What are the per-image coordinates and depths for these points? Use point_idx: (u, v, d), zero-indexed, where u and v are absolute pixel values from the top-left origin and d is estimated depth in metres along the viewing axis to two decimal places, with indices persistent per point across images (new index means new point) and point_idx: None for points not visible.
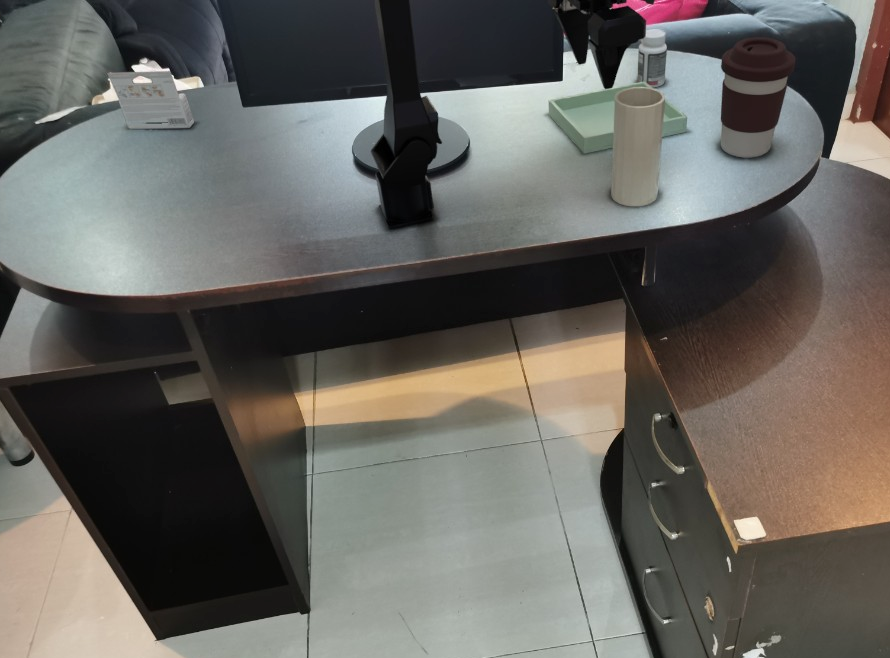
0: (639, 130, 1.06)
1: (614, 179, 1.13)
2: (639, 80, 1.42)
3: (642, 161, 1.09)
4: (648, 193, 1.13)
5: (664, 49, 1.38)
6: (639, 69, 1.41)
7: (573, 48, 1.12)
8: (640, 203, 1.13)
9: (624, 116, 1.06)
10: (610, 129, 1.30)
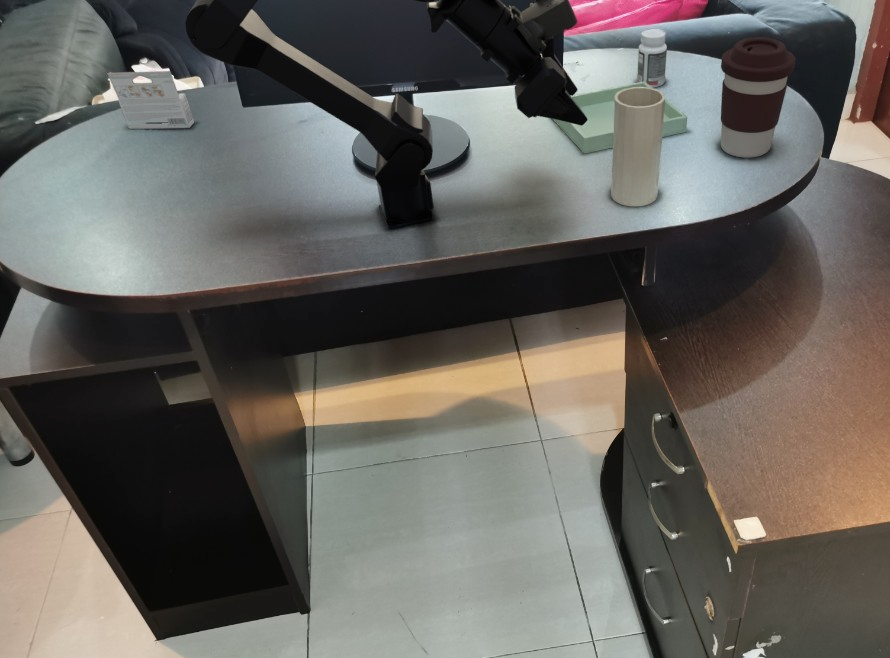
0: (639, 130, 1.06)
1: (614, 179, 1.13)
2: (639, 80, 1.42)
3: (642, 161, 1.09)
4: (648, 193, 1.13)
5: (664, 49, 1.38)
6: (639, 69, 1.41)
7: None
8: (640, 203, 1.13)
9: (624, 116, 1.06)
10: (610, 129, 1.30)
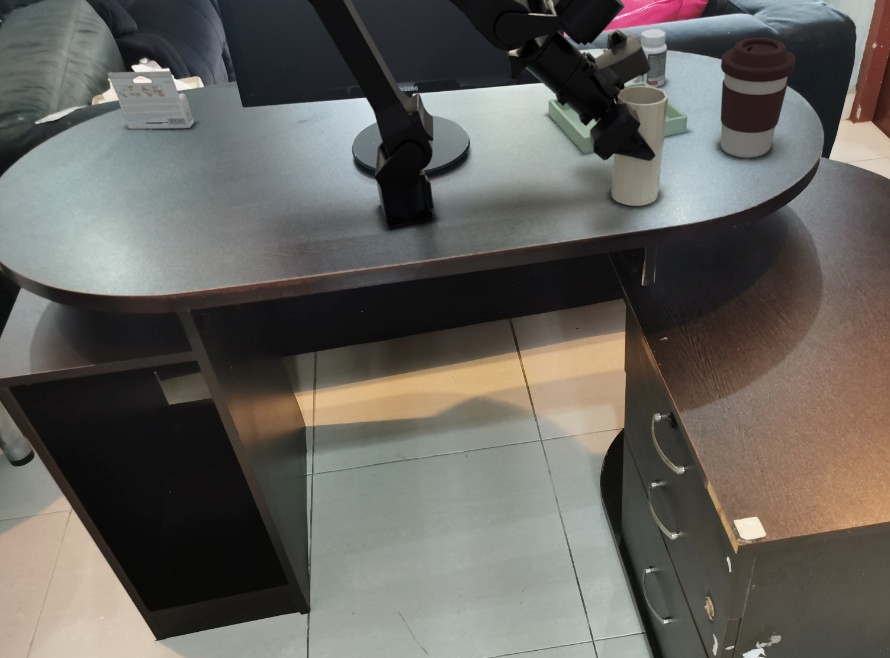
0: (642, 128, 1.06)
1: (615, 178, 1.13)
2: (639, 80, 1.42)
3: (644, 160, 1.09)
4: (649, 192, 1.12)
5: (664, 49, 1.38)
6: None
7: None
8: (640, 202, 1.13)
9: None
10: None
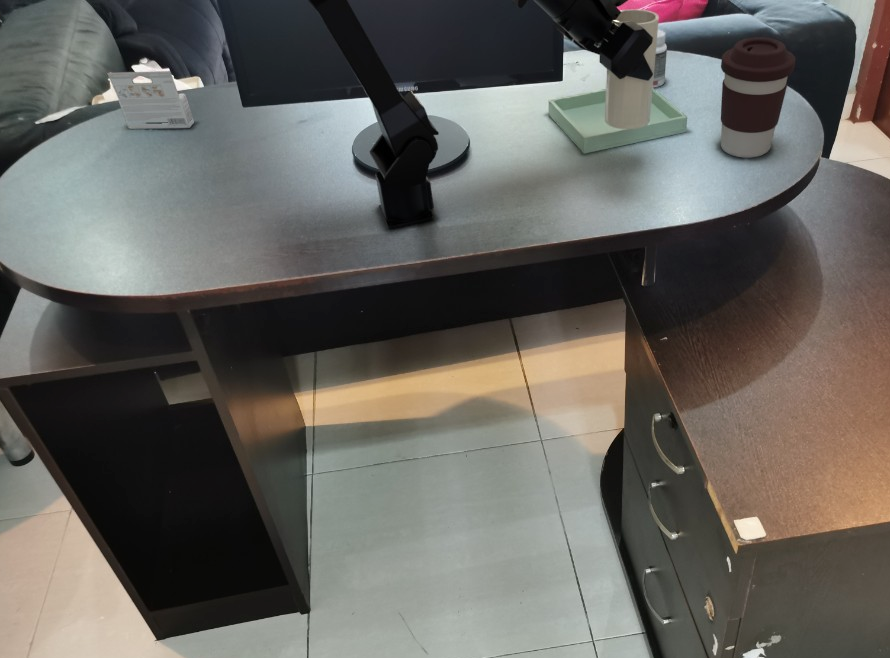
0: None
1: (612, 104, 1.15)
2: None
3: (642, 81, 1.12)
4: (646, 114, 1.15)
5: (664, 49, 1.38)
6: None
7: None
8: (639, 125, 1.16)
9: None
10: (610, 129, 1.30)
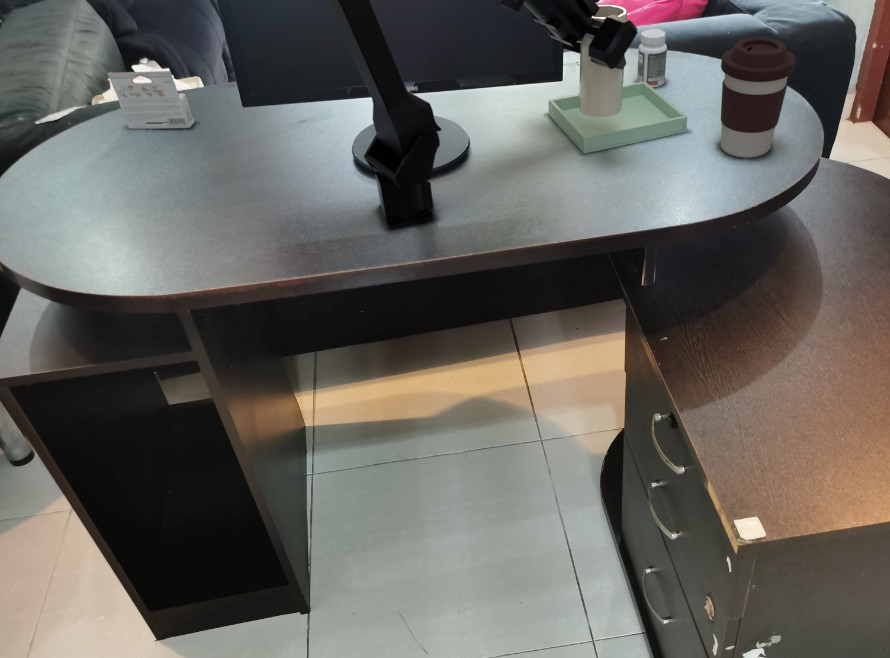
0: None
1: (589, 95, 1.23)
2: (639, 80, 1.42)
3: (617, 70, 1.21)
4: (620, 100, 1.24)
5: (664, 49, 1.38)
6: (639, 69, 1.41)
7: None
8: (615, 111, 1.25)
9: None
10: (610, 129, 1.30)
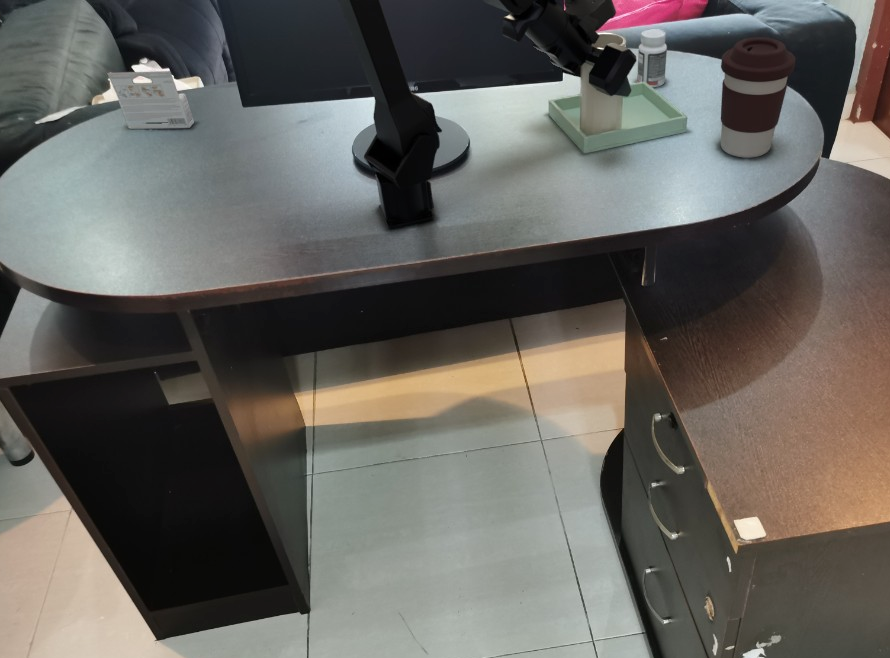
0: None
1: (590, 121, 1.25)
2: (639, 80, 1.42)
3: (617, 97, 1.23)
4: (620, 125, 1.27)
5: (664, 49, 1.38)
6: (639, 69, 1.41)
7: (576, 75, 1.26)
8: None
9: None
10: None
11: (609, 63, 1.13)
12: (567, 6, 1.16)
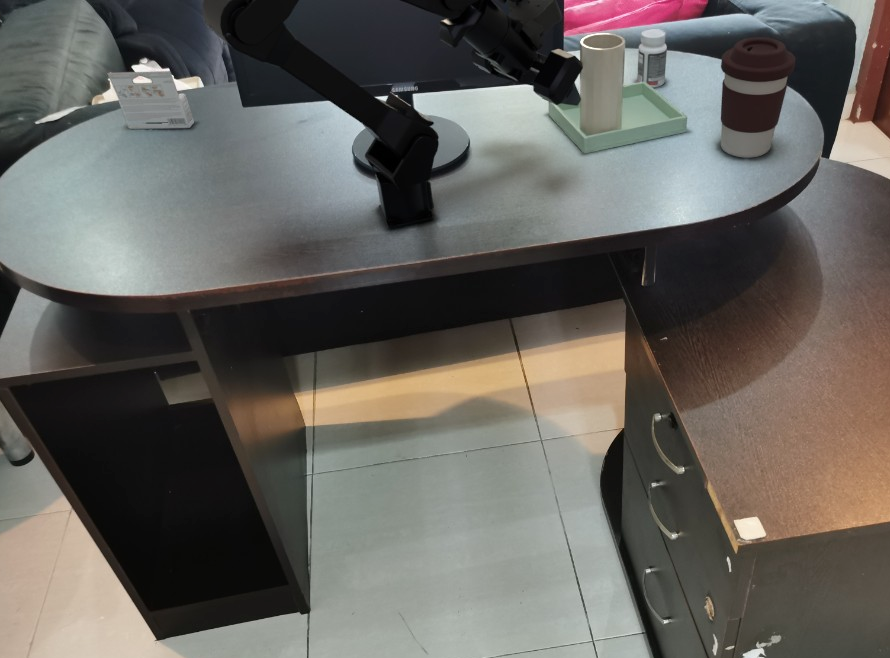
0: (614, 69, 1.20)
1: (590, 121, 1.25)
2: (639, 80, 1.42)
3: (616, 97, 1.23)
4: (620, 125, 1.27)
5: (664, 49, 1.38)
6: (639, 69, 1.41)
7: (524, 82, 1.20)
8: None
9: (601, 59, 1.18)
10: None
11: (553, 70, 1.07)
12: (511, 10, 1.10)
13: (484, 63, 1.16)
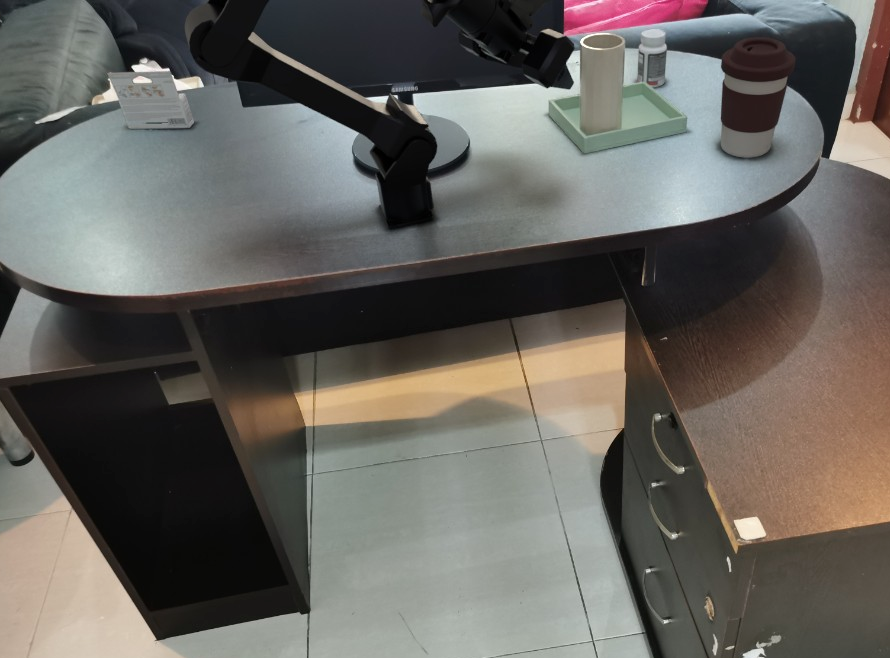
0: (614, 69, 1.20)
1: (590, 121, 1.25)
2: (639, 80, 1.42)
3: (616, 97, 1.23)
4: (620, 125, 1.27)
5: (664, 49, 1.38)
6: (639, 69, 1.41)
7: (515, 66, 1.15)
8: None
9: (601, 59, 1.18)
10: None
11: (544, 51, 1.01)
12: None
13: (472, 45, 1.10)
